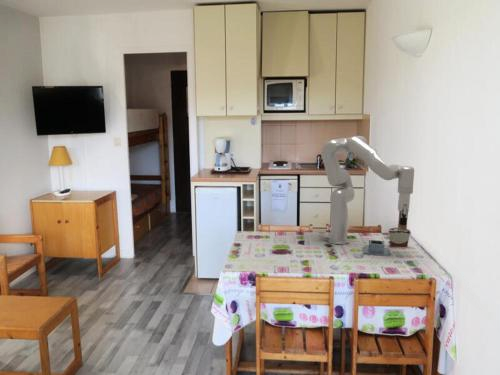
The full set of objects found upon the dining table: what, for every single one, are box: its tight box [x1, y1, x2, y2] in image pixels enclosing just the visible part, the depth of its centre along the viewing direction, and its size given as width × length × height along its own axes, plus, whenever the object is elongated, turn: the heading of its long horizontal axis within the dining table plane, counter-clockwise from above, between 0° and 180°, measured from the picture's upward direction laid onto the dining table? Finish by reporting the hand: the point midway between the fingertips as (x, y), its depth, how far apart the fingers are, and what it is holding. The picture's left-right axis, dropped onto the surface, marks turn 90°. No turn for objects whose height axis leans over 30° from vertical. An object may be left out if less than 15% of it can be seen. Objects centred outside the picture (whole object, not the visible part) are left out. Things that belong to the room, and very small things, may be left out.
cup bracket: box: [362, 239, 391, 257], centre depth 238 cm, size 14×12×5 cm
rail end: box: [397, 211, 409, 231], centre depth 232 cm, size 4×4×10 cm
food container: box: [387, 227, 412, 248], centre depth 248 cm, size 12×6×10 cm, turn 84°
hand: (402, 223), depth 232 cm, fingers closed on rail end, 4 cm apart
